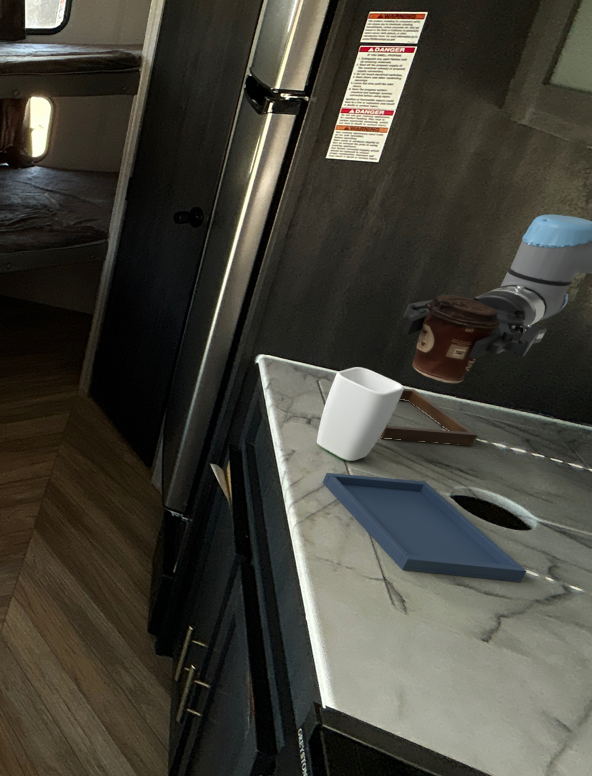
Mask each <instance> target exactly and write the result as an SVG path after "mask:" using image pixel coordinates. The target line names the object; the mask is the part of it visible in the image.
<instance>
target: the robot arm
mask: <svg viewBox="0 0 592 776" xmlns="http://www.w3.org/2000/svg"><path fill="white" fill-rule="evenodd" d="M577 273H578V274H579V273H580V274H592V221H591V220H589V219H585V218H582V217H581V218H580V217H576V216H570V215H561V214H552V213H551V214H550V213H549V214H542V215H538V216H537V217H535V218H534V219H533V220H532V222H531V223H530V225H529V226H528V228H527V229H526V232H525V233H524V234H523V236H522V239H521V243H520V244H519V247H518V250H517V252H516V254H515V257H514V258H513V261H512V263H511V265H510V267H509V269H508V270H507V272H506V274H505V277H504V278H503V279H502V280H503V281H502V282H501V284H500V286H499V287H497V288H495V289H493V290H489V291H487V292H483V293H482V294H479V295H477V296H475V297H473V298H472V299H473V300H476V301H478V302H481V303H483V304H485V305H486V306H489V307H492V308H493V309H495V310H496V311H497V312H498V314H497V318H498V319H499V322H500V326H499V327H498V328H496V329H493V331H492V334H491V335H490V336H488V337H485V338H483V339H481V340H479V341H477V342H476V343H475V345H474V347H473V349H472V351H471V353H470V356H469V357H470V358H473V359H476V360H477V359H478V358H479V359H480V358H481V357H483V356H485V355H487V354H489V353H492V354H495V355H498V354H501V353H503V352H504V353H506V352H507V351H511V352H512V354H513V355H515V356H518V357H525V355H526V354H527V353H528V351H529V349H530V348H531V347H532V345H533V344H538V343H540V342H542V339H543V337H544V336H545V333H546V332H547V330H548V329H547V327H545V326H542V325H534V324H537V323H538V322H540V321H543V320H547V319H550V318H552V317H554V316H555V315H557V314H558V313H560V312H561V311H562V309H563V308H565V306H566V305H567V304H568V301H569V294H568V290H569V287H570V285H571V283H572V281H573V280H574V278H575V277H576V275H577ZM432 300H433V299H429V300H423V301H417V302H413V303H408V305H407V307H406V309H405V312H404V314H403V318H404V319H406V322H405V325H404V327H403V329H402V332H401V334H402V335H405V336H409V335H412V334H414V333H417V332H419V331H421V328H422V325H423V321H424V318H425V317H426V316H428V314H429V313H430V311H429V310H428V307H427V306H426V305H425V304H427V303H429V302H431V301H432ZM532 325H534V326H532ZM519 333H520V335H521V337H520V338H519V340H515V339H514V337H515V334H519Z"/></svg>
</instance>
